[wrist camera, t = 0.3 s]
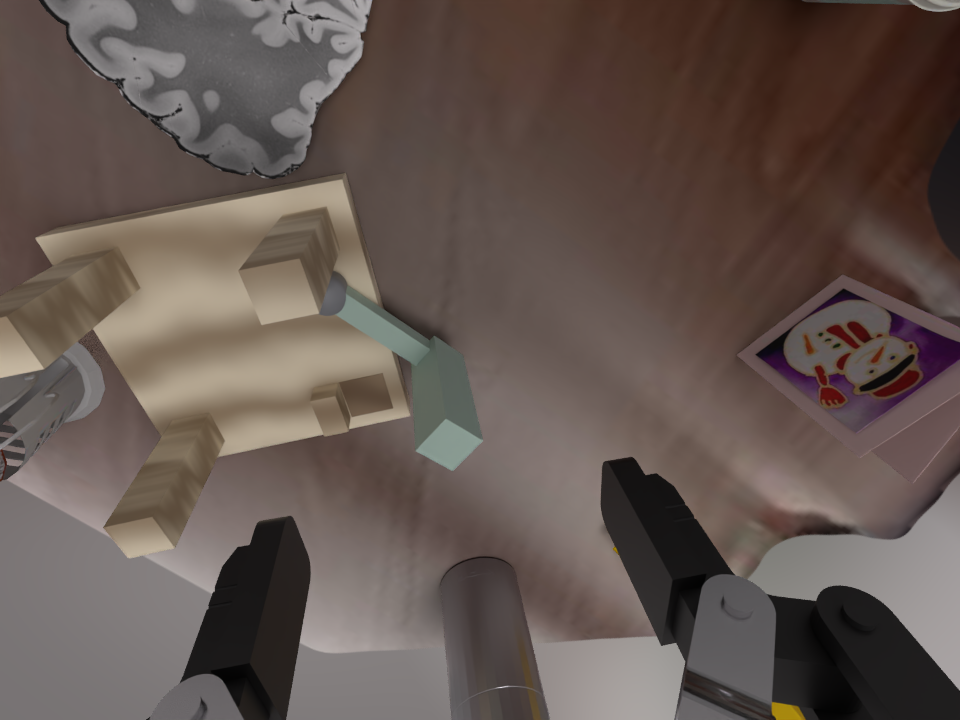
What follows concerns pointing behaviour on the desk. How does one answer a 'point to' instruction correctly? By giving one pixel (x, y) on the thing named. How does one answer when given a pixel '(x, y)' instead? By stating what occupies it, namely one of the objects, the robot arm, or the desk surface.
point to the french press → (47, 402)
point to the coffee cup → (924, 0)
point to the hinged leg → (418, 375)
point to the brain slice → (222, 69)
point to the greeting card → (868, 372)
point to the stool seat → (212, 333)
